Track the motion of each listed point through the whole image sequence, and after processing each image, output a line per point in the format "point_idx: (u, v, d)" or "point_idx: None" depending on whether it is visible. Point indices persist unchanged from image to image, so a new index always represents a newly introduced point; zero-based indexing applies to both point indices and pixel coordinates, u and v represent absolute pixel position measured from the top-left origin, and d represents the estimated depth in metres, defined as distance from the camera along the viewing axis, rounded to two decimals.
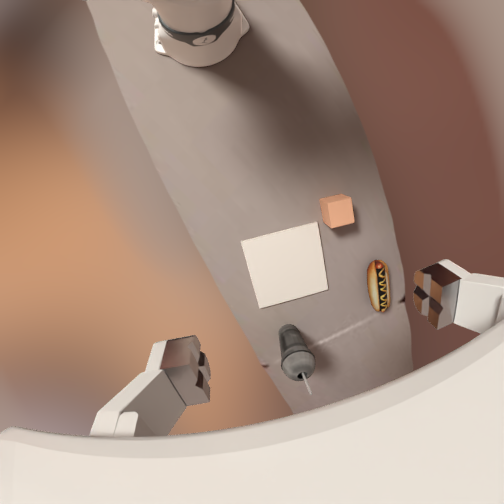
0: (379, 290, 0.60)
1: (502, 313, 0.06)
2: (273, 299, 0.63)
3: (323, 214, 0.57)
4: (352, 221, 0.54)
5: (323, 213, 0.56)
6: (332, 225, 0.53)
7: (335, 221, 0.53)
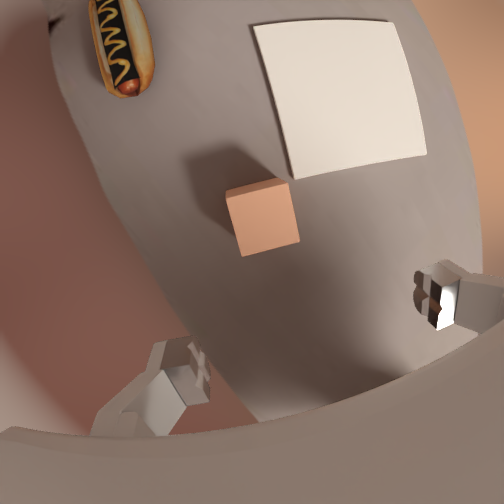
0: (122, 27, 0.16)
1: (502, 313, 0.06)
2: (371, 30, 0.21)
3: None
4: (232, 200, 0.22)
5: None
6: (285, 190, 0.22)
7: (278, 200, 0.22)
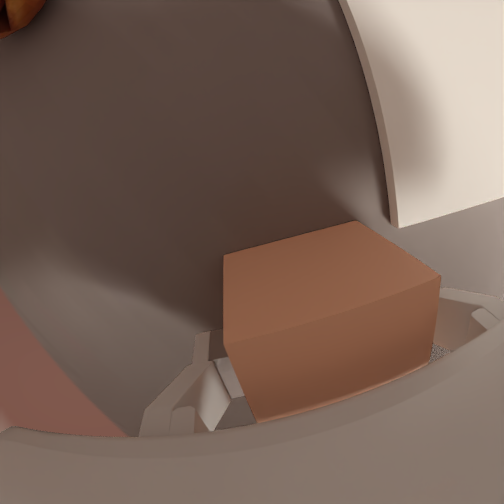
0: None
1: (471, 333, 0.06)
2: None
3: None
4: (248, 350, 0.06)
5: None
6: (430, 299, 0.06)
7: (404, 331, 0.06)
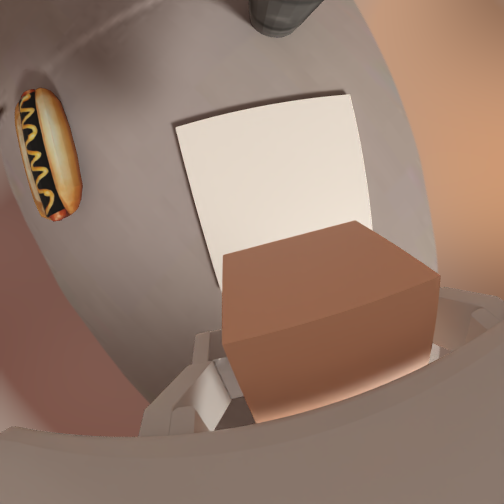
0: (42, 150, 0.18)
1: (471, 333, 0.06)
2: (318, 111, 0.23)
3: None
4: (247, 350, 0.06)
5: None
6: (430, 299, 0.06)
7: (403, 331, 0.06)
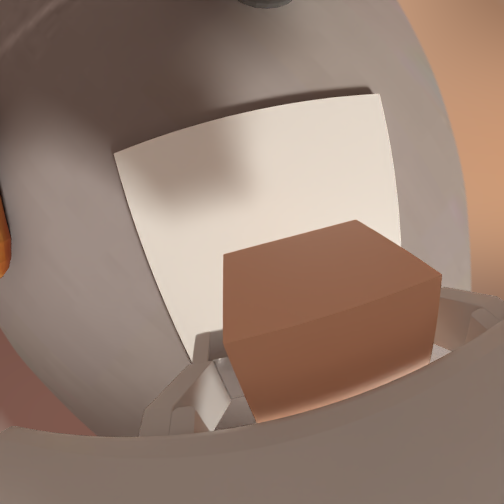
0: None
1: (471, 333, 0.06)
2: (334, 120, 0.15)
3: None
4: (248, 349, 0.06)
5: None
6: (431, 298, 0.06)
7: (405, 330, 0.06)
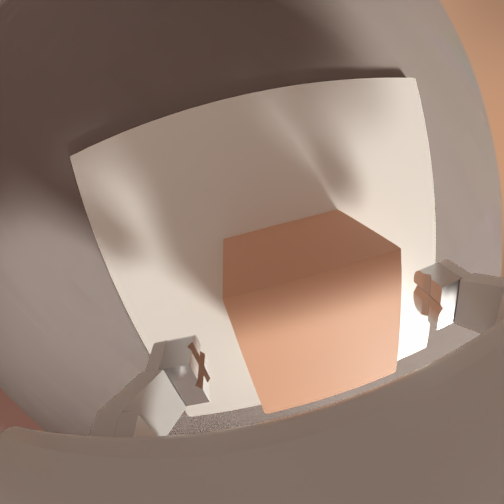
0: None
1: (502, 313, 0.06)
2: (361, 108, 0.10)
3: None
4: (242, 304, 0.07)
5: None
6: (393, 268, 0.07)
7: (372, 294, 0.08)
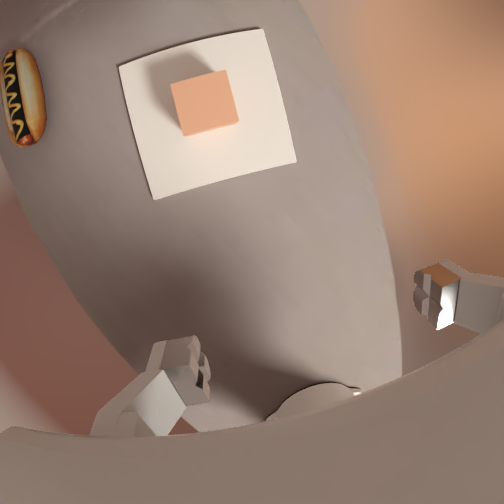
0: (18, 91, 0.19)
1: (502, 313, 0.06)
2: (234, 43, 0.24)
3: None
4: (175, 85, 0.21)
5: None
6: (224, 75, 0.21)
7: (217, 83, 0.21)
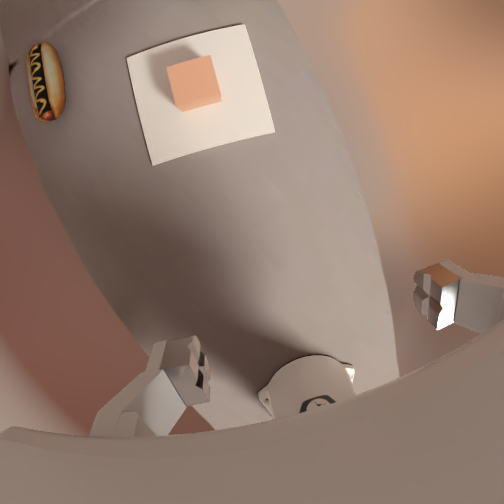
0: (42, 76, 0.24)
1: (502, 313, 0.06)
2: (220, 37, 0.29)
3: None
4: (170, 68, 0.25)
5: None
6: (208, 59, 0.26)
7: (203, 65, 0.26)
